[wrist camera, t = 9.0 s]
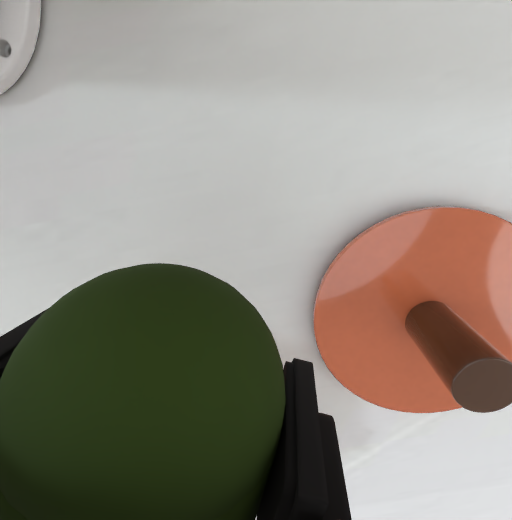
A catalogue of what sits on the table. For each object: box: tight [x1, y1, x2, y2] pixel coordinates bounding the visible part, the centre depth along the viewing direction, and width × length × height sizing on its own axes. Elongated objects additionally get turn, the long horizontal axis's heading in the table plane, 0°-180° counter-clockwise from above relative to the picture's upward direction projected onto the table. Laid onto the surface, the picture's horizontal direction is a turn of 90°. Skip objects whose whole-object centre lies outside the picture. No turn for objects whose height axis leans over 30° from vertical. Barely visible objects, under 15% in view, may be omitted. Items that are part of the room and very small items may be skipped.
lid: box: [313, 206, 512, 413], centre depth 17 cm, size 15×15×7 cm
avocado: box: [0, 263, 286, 520], centre depth 7 cm, size 8×6×6 cm
